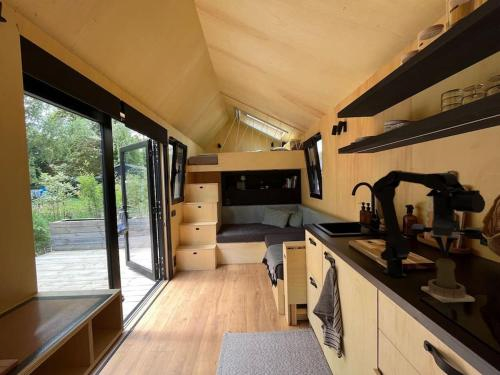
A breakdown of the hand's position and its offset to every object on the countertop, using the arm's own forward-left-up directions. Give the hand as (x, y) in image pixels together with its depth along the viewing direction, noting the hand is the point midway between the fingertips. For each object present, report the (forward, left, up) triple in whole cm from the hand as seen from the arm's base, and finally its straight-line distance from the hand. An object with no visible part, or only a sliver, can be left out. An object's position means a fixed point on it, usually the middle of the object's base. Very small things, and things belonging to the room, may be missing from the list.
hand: (445, 256), depth 84 cm
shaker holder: (0, 0, -13) cm, 13 cm away
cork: (0, 0, -12) cm, 12 cm away
